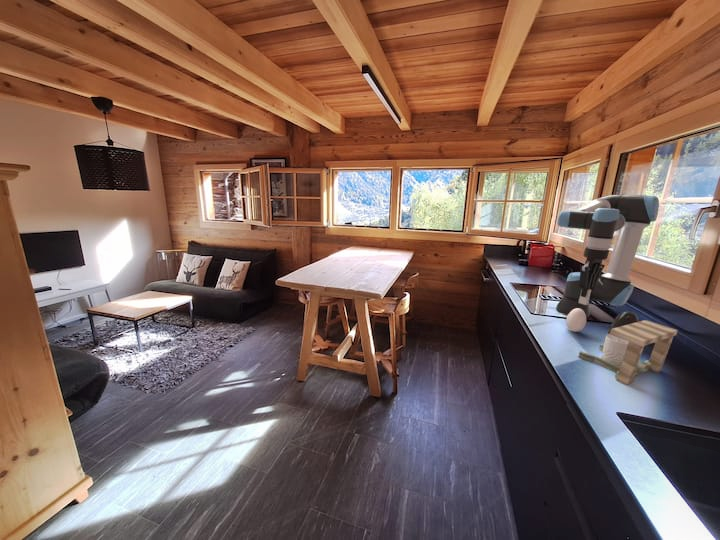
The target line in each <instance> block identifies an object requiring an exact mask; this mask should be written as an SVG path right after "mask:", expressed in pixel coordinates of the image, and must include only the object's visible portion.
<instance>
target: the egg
mask: <svg viewBox="0 0 720 540" xmlns="http://www.w3.org/2000/svg"><path fill="white" fill-rule="evenodd" d="M565 324H566V326H567V328H568V329H569V331H571V332H573V333H577V332H580V331H582V330H583V329H584V328H585V326H586V325H587V318H586V315H585V312H584V311H583V310H582V309H580V308H576V309H573V310H572V311H571V312H570V313H569V314H568V315H566V322H565Z"/></svg>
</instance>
